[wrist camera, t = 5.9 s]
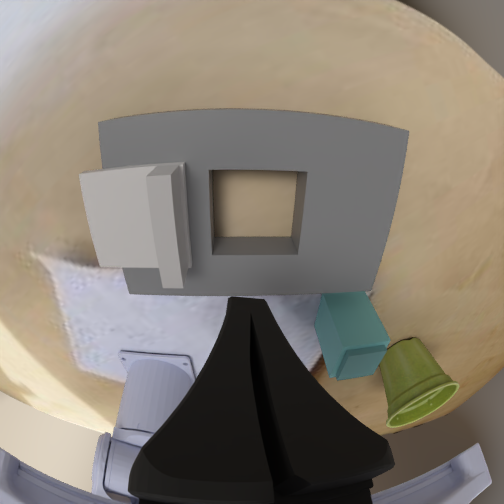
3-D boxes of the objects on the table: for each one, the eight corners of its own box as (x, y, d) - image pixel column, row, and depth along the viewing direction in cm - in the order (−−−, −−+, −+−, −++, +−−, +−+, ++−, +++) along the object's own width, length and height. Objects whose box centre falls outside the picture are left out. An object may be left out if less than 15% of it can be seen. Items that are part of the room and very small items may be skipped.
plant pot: (385, 379, 32) (404, 429, 25) (352, 364, 29) (373, 426, 21) (437, 340, 29) (464, 389, 21) (415, 316, 25) (450, 377, 18)
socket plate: (360, 272, 21) (370, 290, 19) (138, 274, 20) (129, 294, 18) (390, 125, 15) (409, 131, 13) (114, 118, 14) (98, 122, 12)
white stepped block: (192, 262, 17) (186, 288, 15) (103, 262, 17) (88, 285, 14) (184, 162, 14) (174, 174, 11) (83, 171, 13) (61, 185, 11)
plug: (352, 322, 25) (375, 376, 19) (314, 325, 24) (331, 383, 19) (364, 290, 23) (393, 346, 17) (322, 292, 22) (345, 353, 17)
